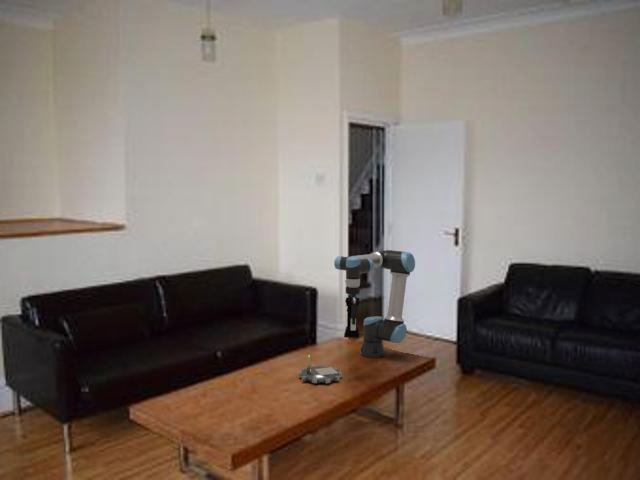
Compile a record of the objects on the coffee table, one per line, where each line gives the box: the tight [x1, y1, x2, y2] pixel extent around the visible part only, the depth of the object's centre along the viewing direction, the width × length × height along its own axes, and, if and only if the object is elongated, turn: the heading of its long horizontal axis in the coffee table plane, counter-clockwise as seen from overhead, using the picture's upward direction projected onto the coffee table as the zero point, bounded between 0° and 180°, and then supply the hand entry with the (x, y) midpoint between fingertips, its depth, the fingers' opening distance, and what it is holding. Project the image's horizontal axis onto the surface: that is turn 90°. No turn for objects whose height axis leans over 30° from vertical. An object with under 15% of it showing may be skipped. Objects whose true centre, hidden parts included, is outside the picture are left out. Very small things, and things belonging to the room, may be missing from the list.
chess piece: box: [343, 297, 360, 339], centre depth 309 cm, size 8×8×20 cm
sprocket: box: [298, 354, 343, 384], centre depth 309 cm, size 23×23×12 cm
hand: (352, 328), depth 310 cm, fingers closed on chess piece, 7 cm apart
